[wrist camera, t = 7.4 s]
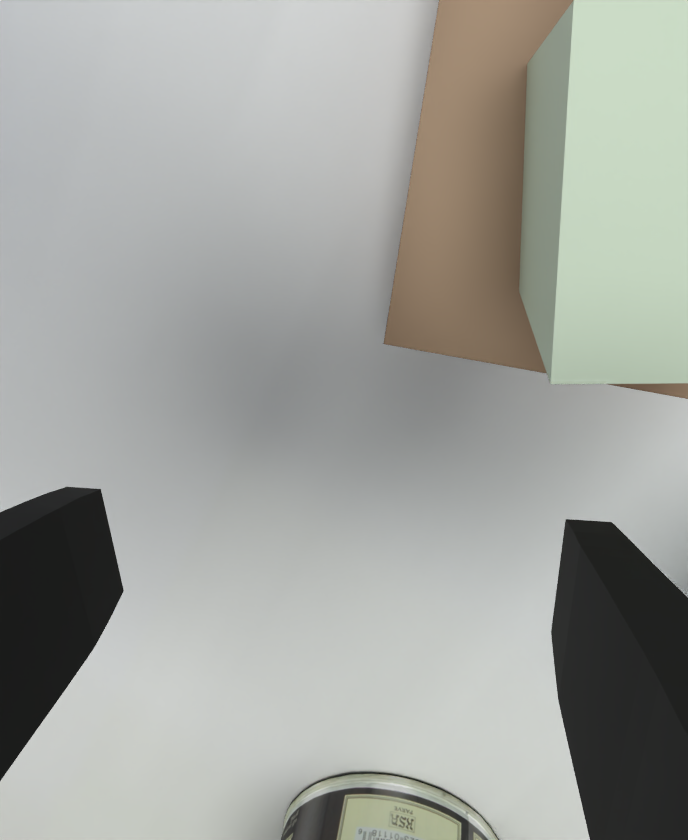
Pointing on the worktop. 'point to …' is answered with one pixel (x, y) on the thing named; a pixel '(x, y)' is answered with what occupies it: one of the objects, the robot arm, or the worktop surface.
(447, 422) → the worktop surface
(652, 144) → the green block
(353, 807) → the coffee can
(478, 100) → the walnut base
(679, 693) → the robot arm
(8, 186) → the worktop surface
